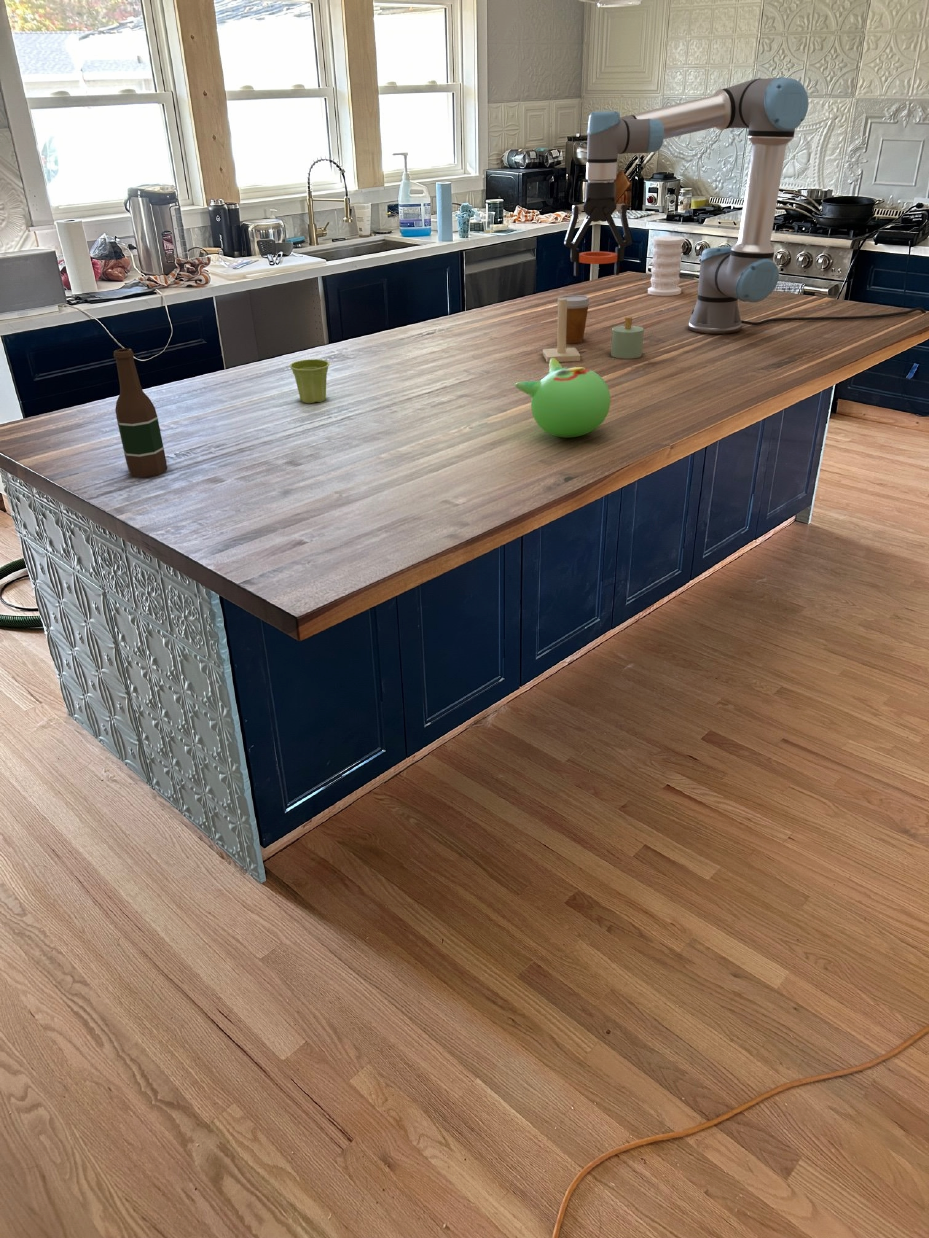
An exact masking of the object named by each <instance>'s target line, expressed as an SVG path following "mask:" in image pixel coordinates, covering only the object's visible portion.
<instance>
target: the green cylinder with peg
mask: <svg viewBox="0 0 929 1238" xmlns="http://www.w3.org/2000/svg"><path fill="white" fill-rule="evenodd" d="M632 323H633V317H632V316H625V317H624V325H617V326H614V327H612V328H611V347H610V356H611V357H613V358H616V359H621V360H622V359H624V360H625V359H628V360H629V359H630V360H631V359H637V358H640V357H642V356H643V347H644V346H643V345H644V331H645V329H644V327H642V326H640V325H633V324H632Z"/></svg>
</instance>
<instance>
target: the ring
mask: <svg viewBox="0 0 929 1238" xmlns="http://www.w3.org/2000/svg"><path fill="white" fill-rule="evenodd" d="M616 261H617V254H616V253H615V252H612V251H599V250H598V251H584V252H579V263H582V264H588V265H589V264H590V265H592V264H593V265H605V264H613V263H614V264H615V262H616Z"/></svg>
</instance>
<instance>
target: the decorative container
mask: <svg viewBox="0 0 929 1238" xmlns="http://www.w3.org/2000/svg"><path fill="white" fill-rule="evenodd" d="M651 242H652V244H653V248H652V254H653V255H652V258H651V264H652V267H651V269H650V272H651V277H650V283H651V286H650V287H648V288H647V294H648V295H652V296H657V297H669V296H678V295H680V294H682V288H681V287H679V285H680V281H681V277H680V274H681V271H682V269H681V263H682V253H683V247H682V246H683V244H684V243H685V236H684V237H683V236H678V235H662V236H654V237H652V239H651Z"/></svg>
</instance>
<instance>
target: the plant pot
mask: <svg viewBox="0 0 929 1238" xmlns="http://www.w3.org/2000/svg"><path fill="white" fill-rule="evenodd" d="M329 366H330V362H329V361H327V360H325V359H318V358H317V359H316V358H312V359H309V358H308V359H302V360H301V359H300V360H296V361H293V362H292V363H290V364H289V368H290V369H291V370H292V374H293V375H294V380H295V383H296V387H297V391H298V395H299V400H300V401H301V402H302V403H306V404H314V403H316V402H318V403H322V402H324V401H326V399H327V378H328V377H327V375H328V371H329Z"/></svg>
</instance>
